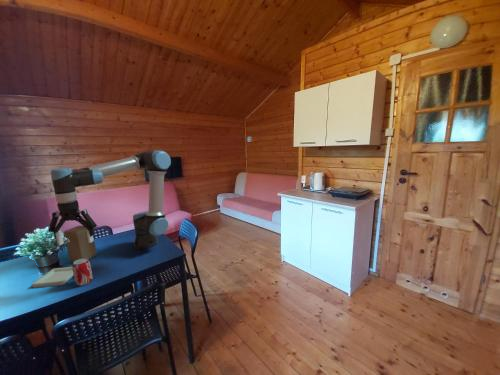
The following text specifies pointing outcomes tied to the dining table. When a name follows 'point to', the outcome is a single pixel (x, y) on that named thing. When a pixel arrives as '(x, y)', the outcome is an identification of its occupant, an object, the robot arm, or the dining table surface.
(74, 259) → the block
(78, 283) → the soda can
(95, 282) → the dining table surface
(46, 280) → the tray
